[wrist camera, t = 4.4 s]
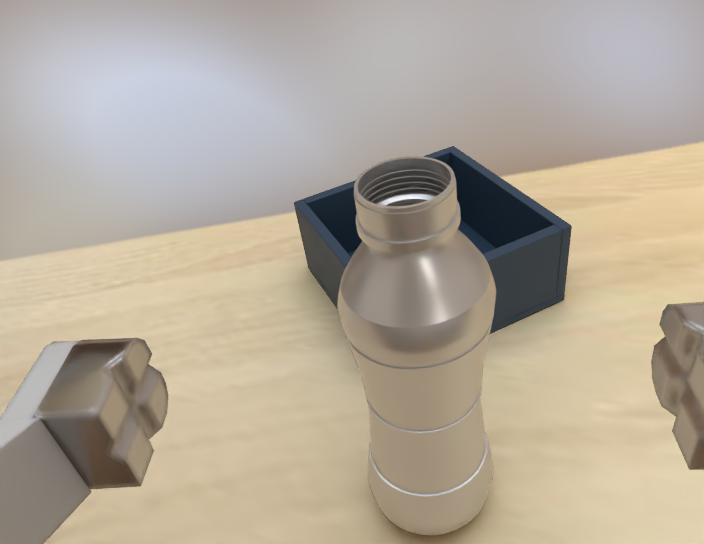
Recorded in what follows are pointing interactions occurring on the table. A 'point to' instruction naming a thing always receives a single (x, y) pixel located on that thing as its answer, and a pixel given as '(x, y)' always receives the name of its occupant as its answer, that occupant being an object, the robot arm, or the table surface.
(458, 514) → the metal water bottle
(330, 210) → the tub
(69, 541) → the table surface
